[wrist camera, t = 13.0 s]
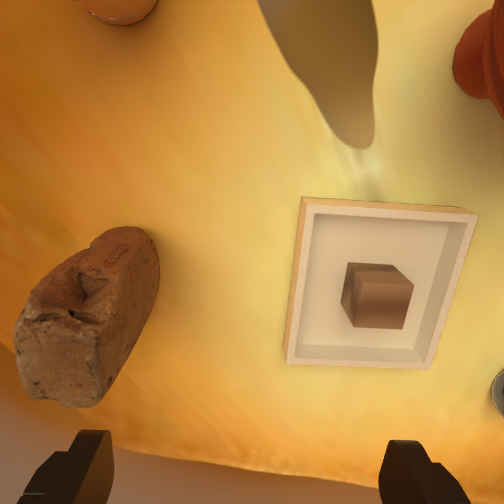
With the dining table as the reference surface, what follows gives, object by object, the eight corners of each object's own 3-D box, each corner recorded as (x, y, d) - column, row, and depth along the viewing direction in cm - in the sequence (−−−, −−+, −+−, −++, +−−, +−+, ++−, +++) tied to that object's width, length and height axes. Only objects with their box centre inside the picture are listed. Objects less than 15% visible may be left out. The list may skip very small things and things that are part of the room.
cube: (347, 262, 44) (363, 282, 38) (392, 264, 44) (414, 285, 39) (340, 302, 46) (353, 327, 41) (383, 304, 46) (402, 329, 41)
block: (160, 301, 46) (105, 421, 28) (104, 295, 46) (9, 415, 27) (163, 225, 42) (100, 305, 24) (102, 218, 42) (-11, 295, 23)
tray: (301, 196, 42) (307, 203, 38) (458, 207, 43) (478, 215, 39) (282, 345, 49) (286, 363, 46) (415, 351, 50) (429, 369, 47)
